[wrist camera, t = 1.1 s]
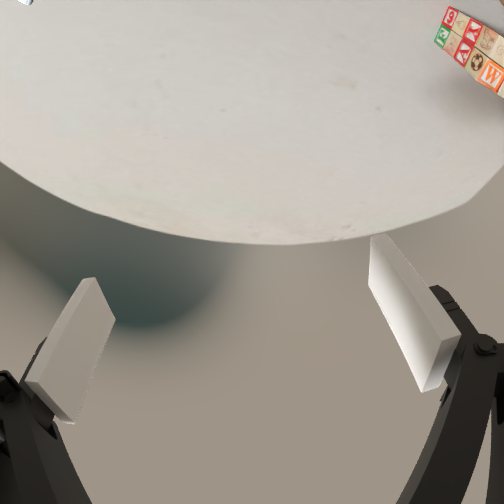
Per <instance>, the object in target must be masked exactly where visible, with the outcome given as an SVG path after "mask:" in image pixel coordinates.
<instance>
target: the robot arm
mask: <svg viewBox="0 0 504 504" xmlns="http://www.w3.org/2000/svg"><path fill="white" fill-rule="evenodd" d="M368 286H369V287H370V289H371V291H372V293H373V295H374V297H375V299H376V300H377V302H378V304H379V306H380V308H381V310H382V312H383V314H384V316H385V318H386V320H387V322H388V324H389V326H390V328H391V330H392V332H393V333H394V335H395V338H396V339H397V342H398V344H399V346H400V348H401V350H402V352H403V354H404V356H405V358H406V360H407V362H408V364H409V366H410V369H411V371H412V373H413V375H414V377H415V379H416V382H417V384H418V386H419V389H420V391H421V392H425V391H428V390H431V389H434V388H437V387H439V386H440V383H441V382H442V380H443V377H444V378H445V380H446V382H447V384H448V386H447V388H446V390H445V392H444V394H443V396H442V398H441V399H440V401H442V402H441V405H440V407H439V410H438V413H437V416H436V418H435V421H434V424H433V426H432V429H431V431H430V434H429V436H428V439H427V441H426V444H425V446H424V448H423V450H422V453H421V455H420V457H419V460H418V461H417V464H416V466H415V468H414V470H413V472H412V474H411V476H410V478H409V480H408V482H407V484H406V486H405V488H404V490H403V492H402V493H401V495H400V497H399V499H398V501H397V503H396V504H461V502H462V500H463V497H464V495H465V492H466V490H467V487H468V485H469V482H470V479H471V477H472V473H473V471H474V468H475V465H476V462H477V459H478V456H479V452H480V449H481V445H482V442H483V438H484V435H485V431H486V427H487V423H488V419H489V414H490V410H491V415H492V416H491V419H492V420H491V428H492V429H491V431H492V432H491V456H490V470H489V481H488V489H487V498H486V504H504V343H497V341H495V340H494V339H493V338H492V337H490V336H488V335H486V334H479V333H478V332H477V330H476V329H475V327H474V326H473V324H472V323H471V322H470V320H469V319H468V318H467V316H466V315H465V313H464V312H463V311H462V309H460V307H459V305H458V304H457V303H456V302H455V300H454V299H453V298H452V296H451V295H450V294H449V292H448V291H446V290H445V289H443V288H442V287H440V286H439V285H436V286H431V287H428V286H427V285H426V283H425V282H424V281H423V279H422V278H421V277H420V275H419V274H418V273H417V271H416V270H415V269H414V268H413V266H412V265H411V264H410V262H409V261H408V260H407V259H406V257H405V256H404V255H403V254H402V252H401V251H400V250H399V249H398V248H397V246H396V245H395V244H394V243H393V241H392V240H391V239H390V238H389V237H388V235H387V234H379V235H373V236H371V244H370V266H369V283H368ZM114 322H115V318H114V316H113V314H112V312H111V310H110V308H109V306H108V304H107V302H106V300H105V297H104V295H103V293H102V291H101V289H100V287H99V285H98V283H97V281H96V278H95V277H93V278H86V279H83V280H82V281H81V283H80V284H79V286H78V287H77V289H76V290H75V292H74V294H73V295H72V297H71V298H70V300H69V302H68V303H67V305H66V306H65V308H64V310H63V312H62V313H61V315H60V316H59V318H58V320H57V322H56V323H55V325H54V327H53V328H52V330H51V332H50V334H49V335H48V337H46V338H45V339H44V340H43V341H42V342H41V343H40V344H39V346H38V348H37V350H36V352H35V355H33V357H32V360H31V361H30V363H29V365H28V367H27V369H26V371H25V373H24V374H23V376H22V378H21V380H20V382H19V383H18V382H17V381H16V380H15V379H14V377H13V376H12V375H11V374H10V372H8V371H6V370H3V371H0V504H92V503H91V501H90V499H89V497H88V495H87V493H86V491H85V489H84V487H83V485H82V483H81V481H80V479H79V477H78V475H77V473H76V471H75V468H74V466H73V464H72V462H71V460H70V458H69V455H68V453H67V450H66V448H65V445H64V443H63V440H62V438H61V435H60V432H59V430H58V427H57V425H56V423H55V422H54V421H53V418H54V415H56V416H57V417H58V418H59V419H60V420H61V421H62V422H63V423H70V424H76V423H77V420H78V417H79V414H80V411H81V408H82V405H83V402H84V399H85V397H86V394H87V391H88V388H89V385H90V383H91V380H92V377H93V374H94V372H95V369H96V367H97V364H98V361H99V359H100V356H101V354H102V351H103V349H104V346H105V344H106V341H107V339H108V336H109V334H110V331H111V329H112V327H113V324H114Z"/></svg>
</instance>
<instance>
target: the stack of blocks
mask: <svg viewBox="0 0 504 504" xmlns="http://www.w3.org/2000/svg"><path fill="white" fill-rule="evenodd" d="M434 42H435V43H436V44H437V45H438V46H439V47H441V48H442V49H443V50H445V51H446V52H447V53H448V54H449V55H451V56H452V57H453V58H454V60H455V61H457V62H458V63H459V64H460V65H461V66H462V67H463V68H464V69H466V70H467V71H468V72H469V73H470V75H471V76H472V77H473V78H474V79H475V80H476V81H478V82H479V83H481V84H483V85H484V86H486V87H488V88H489V89H491V90H492V91H494V92H495V93H496V94H498V95H499V96H501V97H502V98H504V38H503V37H502V36H501V35H499V34H498V33H496V32H495V31H493V30H491V29H490V28H488V27H486V26H485V25H483V24H481V23H480V22H478V21H476V20H474V19H473V18H470V17H468V16H467V15H465V14H463V13H462V12H460V11H458V10H456V9H454V8H452V7H450V6H449V7H448V9H447V12H446V14H445V16H444V19H443V21H442V24H441V27H440V29H439V31H438V33H437V36H436V38H435V40H434Z"/></svg>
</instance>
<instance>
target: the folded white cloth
mask: <svg viewBox="0 0 504 504" xmlns="http://www.w3.org/2000/svg"><path fill="white" fill-rule="evenodd" d="M18 1H20V2H21V3H23V4H25V5H30V4H31V2H32V0H18Z"/></svg>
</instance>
